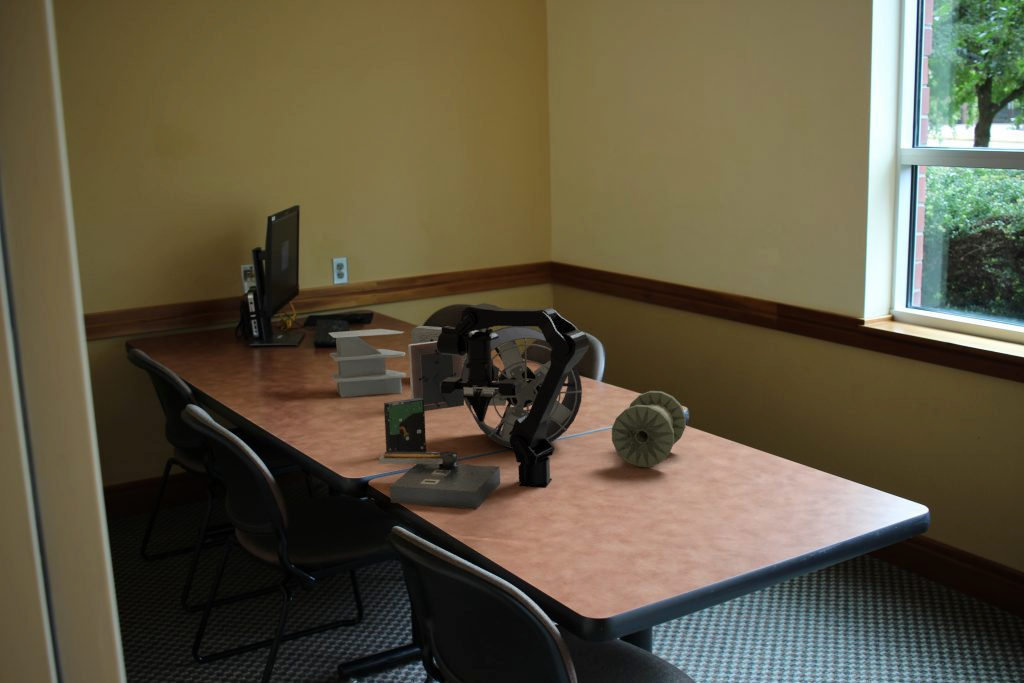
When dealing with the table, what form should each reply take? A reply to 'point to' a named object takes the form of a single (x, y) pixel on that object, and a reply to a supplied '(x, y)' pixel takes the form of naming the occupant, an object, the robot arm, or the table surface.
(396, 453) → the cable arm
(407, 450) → the disk drive
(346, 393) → the file organizer
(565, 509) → the table surface
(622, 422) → the spool
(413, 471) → the grey flat block
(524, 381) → the ventilation fan
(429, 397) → the picture frame
